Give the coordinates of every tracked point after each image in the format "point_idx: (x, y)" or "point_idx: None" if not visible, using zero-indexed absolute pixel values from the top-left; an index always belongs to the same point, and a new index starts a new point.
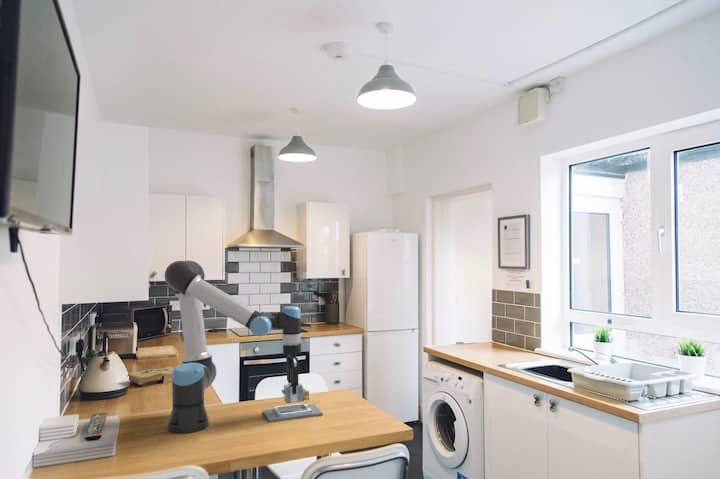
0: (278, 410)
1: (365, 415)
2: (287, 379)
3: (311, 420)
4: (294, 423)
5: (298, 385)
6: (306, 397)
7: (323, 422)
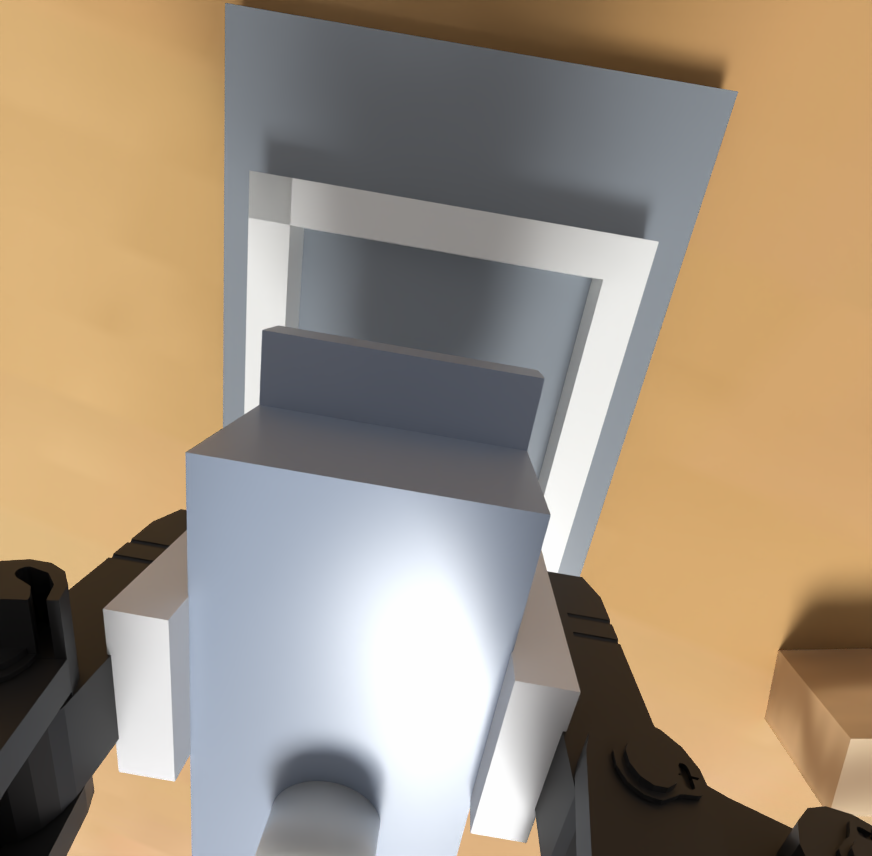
0: (436, 243)
1: (118, 822)
2: (804, 852)
3: (136, 490)
4: (99, 312)
5: (235, 802)
6: (788, 724)
7: (48, 550)
